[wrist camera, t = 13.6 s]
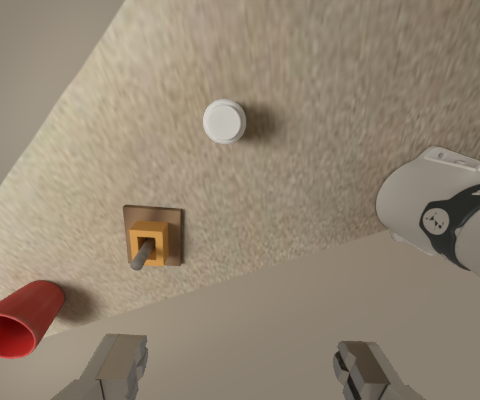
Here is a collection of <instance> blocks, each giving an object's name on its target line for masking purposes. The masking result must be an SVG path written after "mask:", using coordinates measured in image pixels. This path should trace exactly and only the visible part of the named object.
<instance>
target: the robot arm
mask: <svg viewBox="0 0 480 400" xmlns="http://www.w3.org/2000/svg"><path fill="white" fill-rule="evenodd" d="M439 154H440V155H439ZM376 211H377V215H378V217H379V219H380V221H381V222H382V223H383V224H384V225H385V226H386V227H387V228H388V229H389V231H390V234H391V237H392V239H393V240H395V241H397V242H408V243H410V244H412V245H413V246H415V247H417V248H418V249H420V250H422V251H423V252H425V253H427V254H429V255H432V256H434V255H442V256H443V257H444V258H445V259H446V260H448V261H449V262H451V263H453V264H456V265H457V266H459V267H461V268H463V269H465V270H468V271H472V272H474V273H476V274H477V275H479V276H480V161H479V160H476V159H473V158H470V157H467V156H465V155H462V154H459V153H456V152H453V151H450V150H447V149H444V148H442V147H438V146H430V147H429V148H427V149H426V150H425V151H424V152H423V153H422V154H421V155H419V156H418V157H417V158H416V159H414V160H412V161H410V162H408V163H406V164H404V165H403V166H401V167H399V168H398V169H397V170H395V171H394V172H393V173H392V174H391V175H390V176H389V177H388V178H387V179H386V181H385V182H384V183H383V185H382V187H381V189H380V191H379V193H378V196H377V201H376ZM146 343H147V336H146V335H127V334H106V335H105V336H104V337H103V339H102V341H101V342H100V344H99V346H98V347H97V349H96V351H95V352H94V354H93V356H92V358H91V359H90V361H89V363H88V365H87V367H86V368H85V370H84V372H83V373H82V375H81V377H80V379H79V380H74V381H73V382H71V383H70V384H69V385H68V386H66V387H65V388H64V389H63V390H62V391H60V392H59V393H58V394H57V395H55V396H54V397H53V398H52V399H51V400H135V398H136V395H137V392H138V381H139V380H140V379H141V378H142V377H143V374H144V371H145V368H146V363H147V358H148V349H147V348H146V347H145V346H146ZM338 349H339V351H338V352H336V353H335V354H334V358H333V367H334V371H335V375H336V377H337V380H338V381H339V382H340V383H341V384H342V385H343V386H344V388H343V394H344V397H345V399H346V400H426V399H424V398H423V397H422V396H421V395H420V394H418V393H417V392H416V391H415V390H414V389H412V388H411V387H410V386H409V385H404V383H403V382H402V380H401V379H400V377H399V375H398V374H397V372H396V371H395V369H394V368H393V366H392V365H391V363H390V362H389V360H388V359H387V357H386V355H385V354H384V353H383V351H382V350H381V348H380V346H379V345H378V344H377V343H376V342H362V341H341V342H339V344H338Z"/></svg>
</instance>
